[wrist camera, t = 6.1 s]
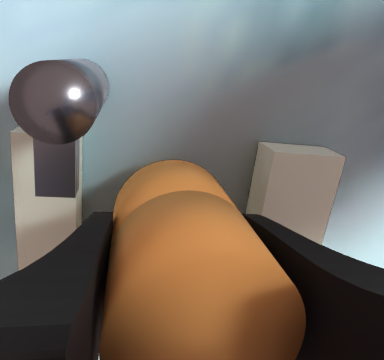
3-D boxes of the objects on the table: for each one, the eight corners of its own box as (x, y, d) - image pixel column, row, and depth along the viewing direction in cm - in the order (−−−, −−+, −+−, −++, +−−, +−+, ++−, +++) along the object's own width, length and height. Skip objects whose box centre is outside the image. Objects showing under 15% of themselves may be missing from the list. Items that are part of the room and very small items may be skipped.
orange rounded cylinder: (231, 161, 13) (324, 250, 7) (219, 260, 14) (287, 408, 8) (113, 157, 12) (98, 255, 6) (113, 264, 13) (100, 432, 7)
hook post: (109, 62, 12) (97, 66, 7) (106, 147, 13) (94, 198, 8) (55, 55, 11) (5, 55, 7) (57, 143, 12) (14, 195, 8)
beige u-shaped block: (323, 146, 14) (346, 157, 13) (281, 314, 17) (295, 338, 16) (24, 122, 12) (9, 132, 10) (33, 322, 15) (23, 351, 13)
